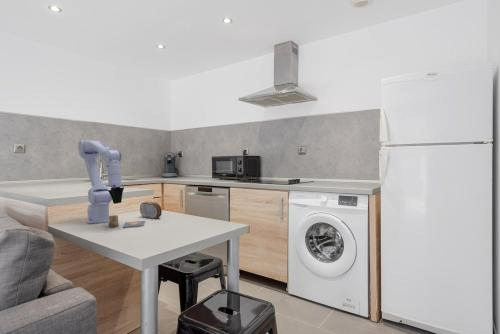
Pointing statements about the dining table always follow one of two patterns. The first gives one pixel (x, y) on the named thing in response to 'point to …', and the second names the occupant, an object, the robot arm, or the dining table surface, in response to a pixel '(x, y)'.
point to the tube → (113, 221)
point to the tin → (150, 210)
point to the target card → (133, 224)
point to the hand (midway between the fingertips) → (117, 203)
